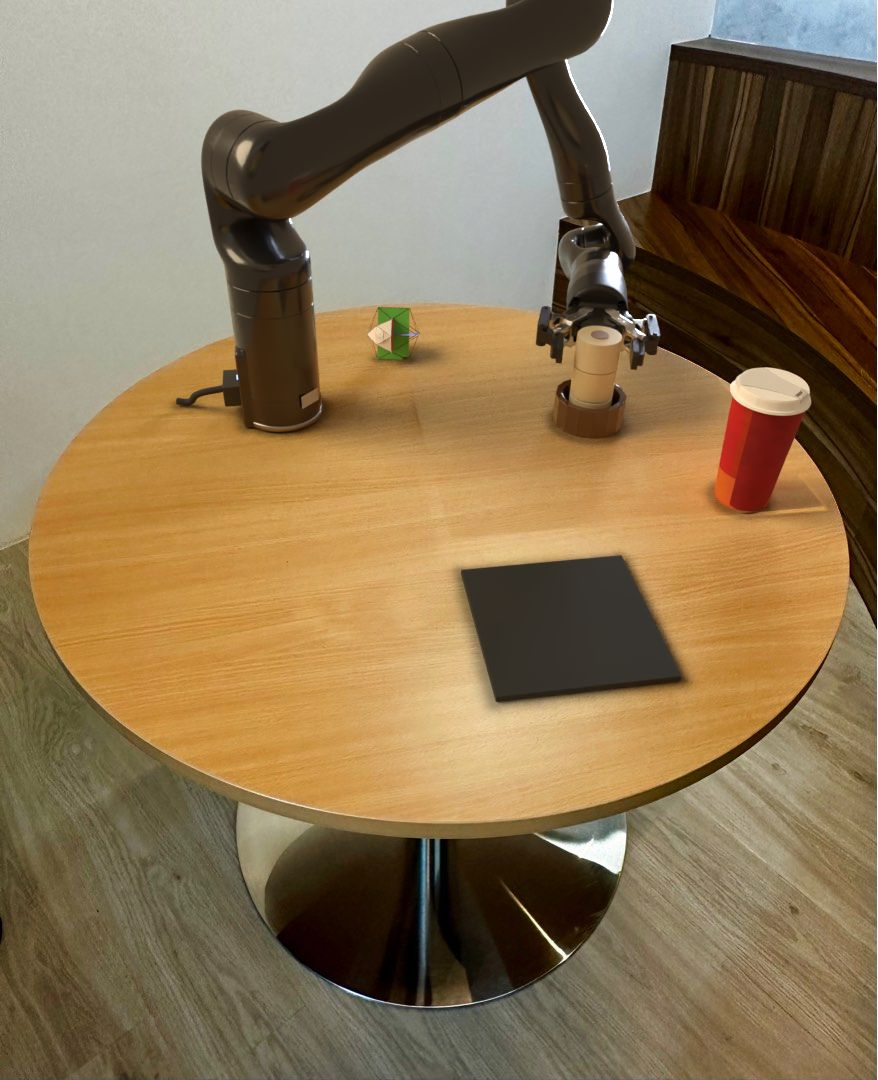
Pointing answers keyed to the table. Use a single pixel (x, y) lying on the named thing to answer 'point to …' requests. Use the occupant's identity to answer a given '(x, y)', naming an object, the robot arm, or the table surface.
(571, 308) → the robot arm
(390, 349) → the geometric puzzle
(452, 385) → the table surface
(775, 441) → the paper cup
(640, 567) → the table surface
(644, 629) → the rubber mat
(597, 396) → the tape stack
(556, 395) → the ring
